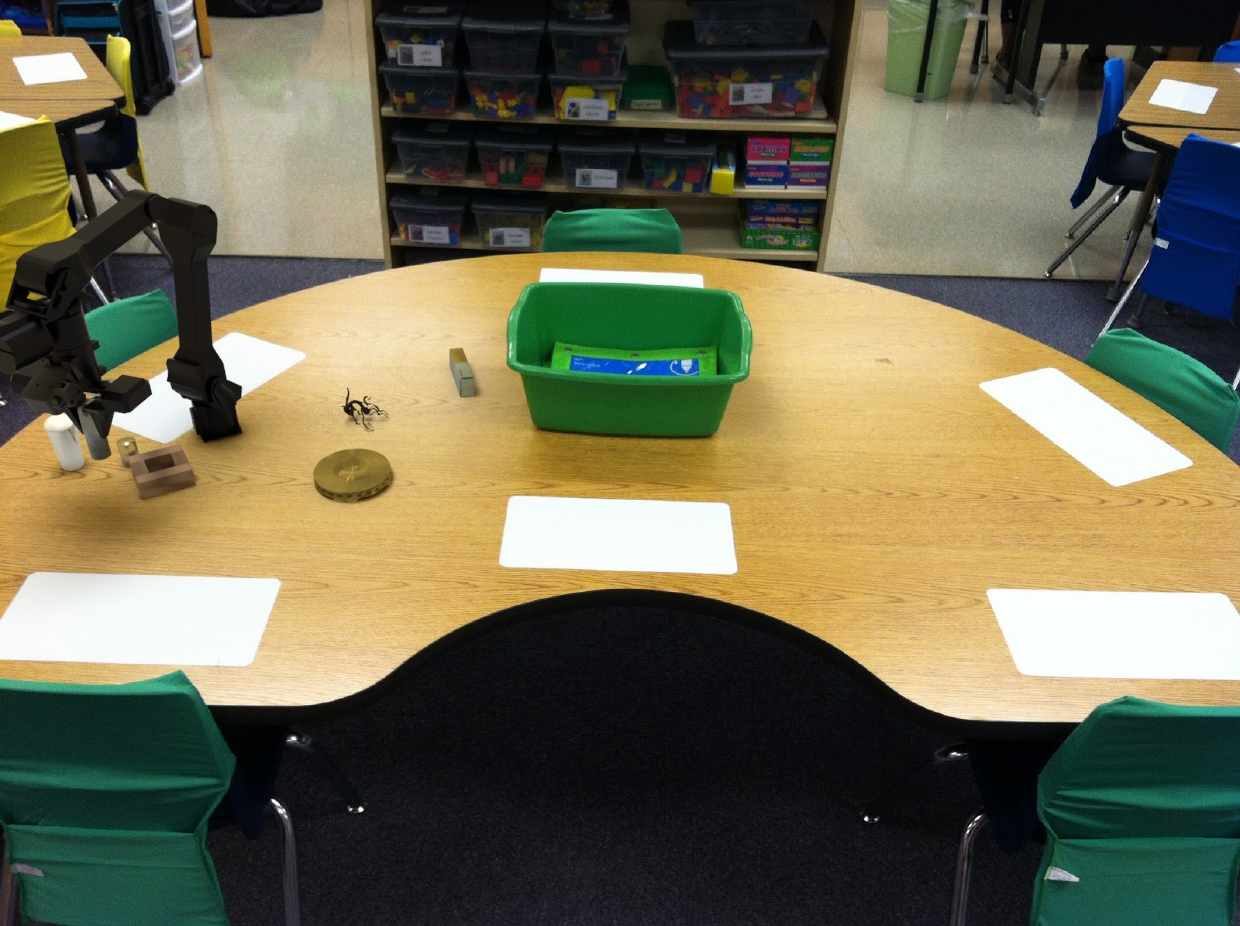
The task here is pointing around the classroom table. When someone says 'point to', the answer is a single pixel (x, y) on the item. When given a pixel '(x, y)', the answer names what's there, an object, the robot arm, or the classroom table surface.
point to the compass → (352, 474)
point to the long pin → (92, 432)
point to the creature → (350, 410)
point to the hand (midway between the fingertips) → (95, 435)
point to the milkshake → (65, 441)
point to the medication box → (461, 372)
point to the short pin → (127, 449)
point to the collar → (161, 471)
